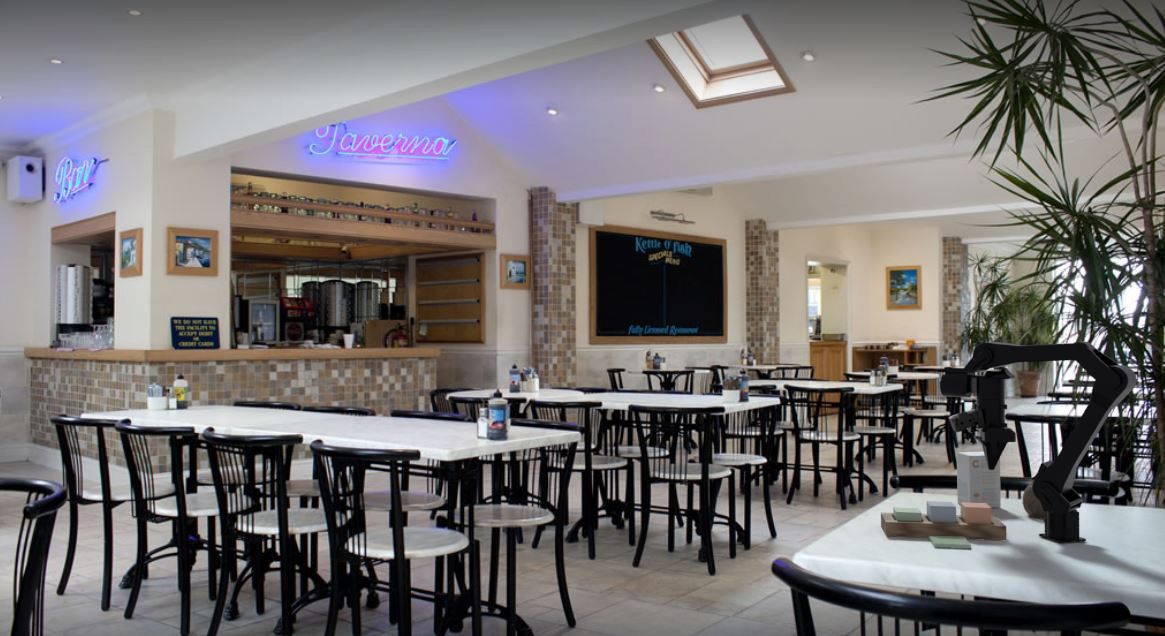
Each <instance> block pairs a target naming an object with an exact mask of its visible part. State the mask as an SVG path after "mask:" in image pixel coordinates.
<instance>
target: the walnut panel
mask: <svg viewBox="0 0 1165 636" xmlns="http://www.w3.org/2000/svg"><path fill="white" fill-rule="evenodd" d="M880 527H881V529H882V531H883V533H884V532H885V533H884V534H885V536H886V535H887V536H886V537H898V536H905V537H904V538H923V539H924V538H925V539H926V538H928V539H929V536H954V537H965V538H966V540H973V539H984V540H983V541H998V540H1007V526H1006V524H1004V523H1003V522H1002V521H1001V520H1000V519H999V518H998V517H997V516H994V515H991V524H981V523H963V522H962V520H961V514H956V523H953V522H929V521H928V520H927V513H922V521H899V520H894V518H893V512H880Z"/></svg>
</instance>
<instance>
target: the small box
mask: <svg viewBox="0 0 1165 636" xmlns="http://www.w3.org/2000/svg"><path fill="white" fill-rule="evenodd" d="M956 481H957V483H956V485H957V487H956V489H957V493H956V494H957V505H959V506H961V502H967V503H986V504H988V505H989V506H990V507H991V509H992V508H1001V507H1002V506H1001V505H1002V504H1001V457H1000V458H999V461H998V463H997V465H996V467H995V469H994V470H989V469H988V467H987V463H986V459H985V455H984V451H967V452H966V451H965V452H964V451H962V452H960V451H959V452H956Z"/></svg>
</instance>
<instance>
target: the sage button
mask: <svg viewBox="0 0 1165 636" xmlns="http://www.w3.org/2000/svg"><path fill="white" fill-rule="evenodd" d="M892 509H893V510H892V511H893V512H892V513H893V518H894V520H899V521H922V514H923V512H922V511H921V510H920V509H919V508H918V507H906V506H905V507H900V506H894V507H892Z"/></svg>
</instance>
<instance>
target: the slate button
mask: <svg viewBox="0 0 1165 636" xmlns="http://www.w3.org/2000/svg"><path fill="white" fill-rule="evenodd" d="M926 514H927V520H928V521H929V522H953V523H956V515H957V506H956V505H955V504H954V503H953V502H952V501H929V500H928V501H926Z"/></svg>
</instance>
